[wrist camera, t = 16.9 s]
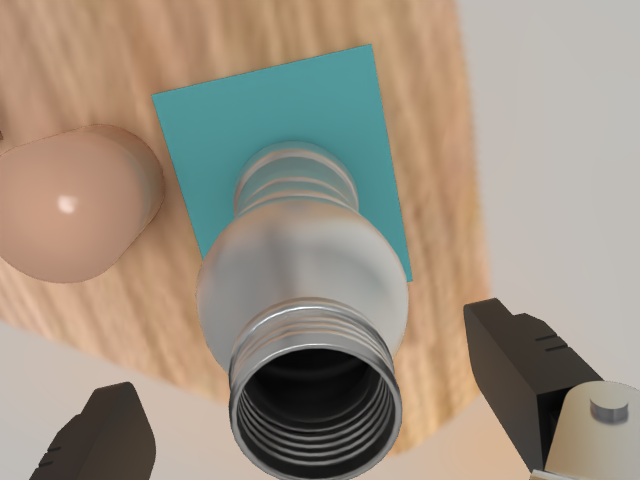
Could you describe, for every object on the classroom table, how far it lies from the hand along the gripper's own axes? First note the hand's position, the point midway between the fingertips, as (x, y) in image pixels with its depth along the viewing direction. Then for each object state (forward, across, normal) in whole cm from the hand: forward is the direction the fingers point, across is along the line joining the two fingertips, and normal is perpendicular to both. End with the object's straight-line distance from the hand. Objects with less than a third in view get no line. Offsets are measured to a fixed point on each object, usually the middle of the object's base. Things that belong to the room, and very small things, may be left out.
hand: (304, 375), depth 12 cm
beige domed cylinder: (+19, +10, -3) cm, 22 cm away
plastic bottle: (+19, 0, 0) cm, 19 cm away
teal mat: (+19, 0, 0) cm, 19 cm away
